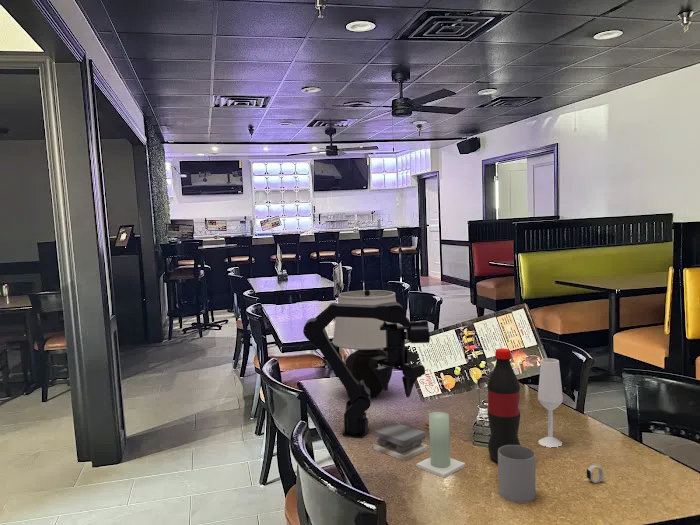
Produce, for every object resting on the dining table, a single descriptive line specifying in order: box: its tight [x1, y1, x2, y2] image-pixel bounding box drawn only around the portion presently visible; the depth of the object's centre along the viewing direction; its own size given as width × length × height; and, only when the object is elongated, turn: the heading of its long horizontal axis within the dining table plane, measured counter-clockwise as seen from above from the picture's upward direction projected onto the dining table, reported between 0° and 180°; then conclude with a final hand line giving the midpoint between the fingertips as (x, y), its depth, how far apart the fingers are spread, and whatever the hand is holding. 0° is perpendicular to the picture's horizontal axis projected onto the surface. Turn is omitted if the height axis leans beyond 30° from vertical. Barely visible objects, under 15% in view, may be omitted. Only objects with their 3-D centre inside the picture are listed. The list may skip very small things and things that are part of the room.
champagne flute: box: [537, 357, 564, 448], centre depth 153 cm, size 7×7×24 cm
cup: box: [497, 444, 537, 504], centre depth 125 cm, size 8×8×10 cm
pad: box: [416, 456, 466, 479], centre depth 141 cm, size 9×9×1 cm
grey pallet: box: [372, 422, 429, 462], centre depth 152 cm, size 12×10×5 cm
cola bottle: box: [486, 347, 521, 463], centre depth 143 cm, size 8×8×30 cm
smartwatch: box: [586, 464, 605, 484], centre depth 130 cm, size 4×2×4 cm, turn 96°
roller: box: [428, 411, 451, 468], centre depth 140 cm, size 5×5×13 cm
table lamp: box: [331, 289, 402, 398], centre depth 201 cm, size 27×27×40 cm
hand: (396, 393), depth 165 cm, fingers open, 9 cm apart
